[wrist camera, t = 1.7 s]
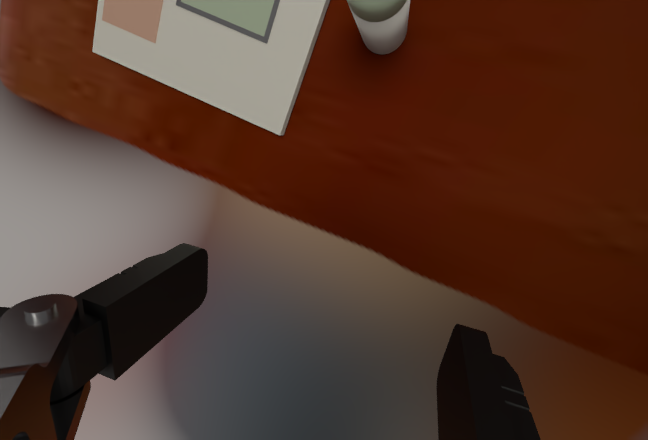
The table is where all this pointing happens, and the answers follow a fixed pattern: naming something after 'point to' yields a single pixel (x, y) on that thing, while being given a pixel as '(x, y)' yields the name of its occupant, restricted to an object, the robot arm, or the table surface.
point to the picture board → (217, 49)
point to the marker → (381, 23)
